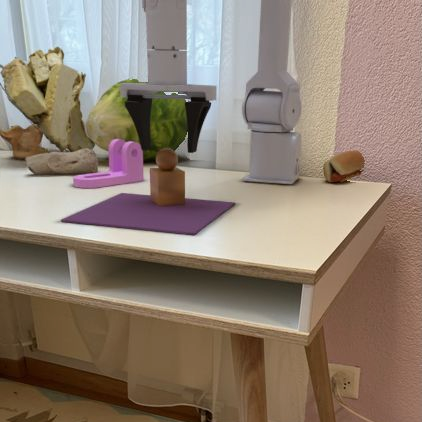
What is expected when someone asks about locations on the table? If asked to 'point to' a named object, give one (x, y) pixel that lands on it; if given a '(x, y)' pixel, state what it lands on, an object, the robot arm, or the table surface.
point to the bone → (24, 141)
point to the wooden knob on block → (167, 180)
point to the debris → (49, 97)
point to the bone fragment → (63, 162)
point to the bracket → (116, 167)
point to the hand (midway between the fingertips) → (168, 150)
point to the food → (343, 166)
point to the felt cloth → (151, 214)
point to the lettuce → (124, 127)
